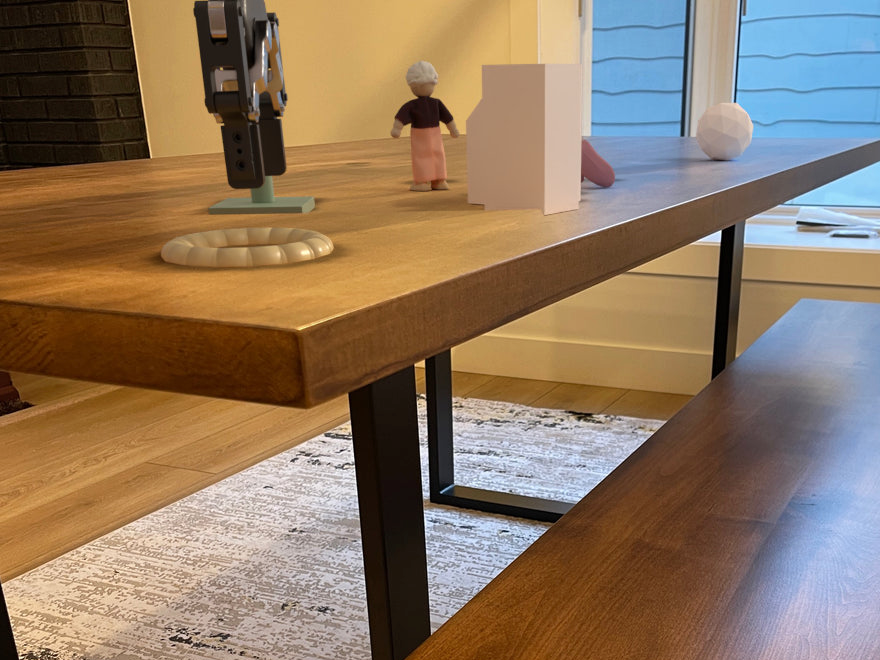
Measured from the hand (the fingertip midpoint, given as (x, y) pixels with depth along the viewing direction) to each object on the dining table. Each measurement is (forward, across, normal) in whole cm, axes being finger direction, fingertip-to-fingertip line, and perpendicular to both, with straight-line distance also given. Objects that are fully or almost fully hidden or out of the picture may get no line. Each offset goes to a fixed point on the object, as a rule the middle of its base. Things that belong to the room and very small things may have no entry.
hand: (259, 181), depth 66 cm
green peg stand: (+5, -24, -4) cm, 24 cm away
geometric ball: (+6, -78, +50) cm, 93 cm away
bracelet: (+4, +4, 0) cm, 6 cm away
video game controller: (+5, -45, +26) cm, 52 cm away
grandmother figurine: (+5, -43, +10) cm, 44 cm away
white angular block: (+5, -27, +20) cm, 33 cm away
